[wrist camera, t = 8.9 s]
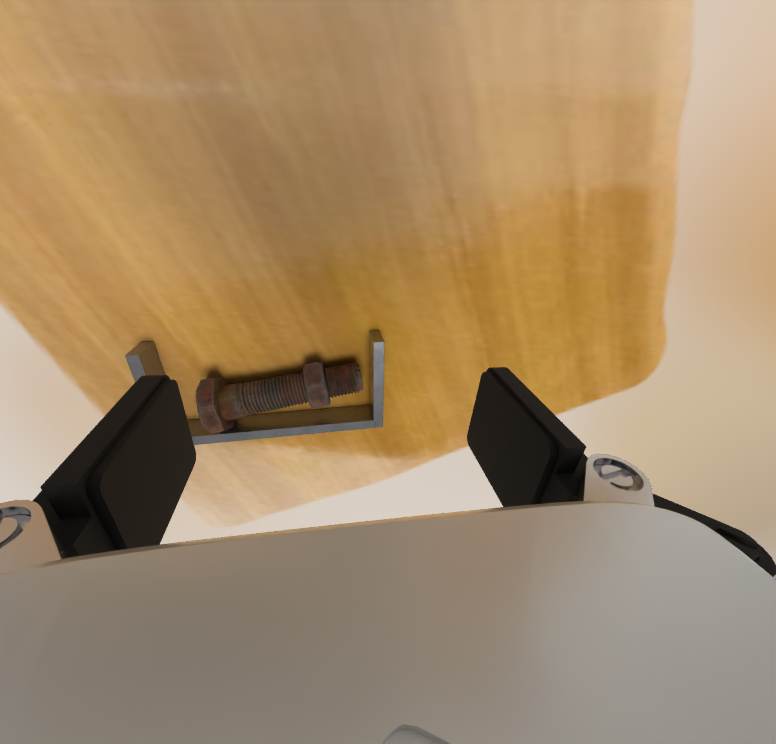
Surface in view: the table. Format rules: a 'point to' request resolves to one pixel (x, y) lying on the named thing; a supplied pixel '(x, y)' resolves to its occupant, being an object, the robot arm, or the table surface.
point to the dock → (281, 423)
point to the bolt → (273, 393)
